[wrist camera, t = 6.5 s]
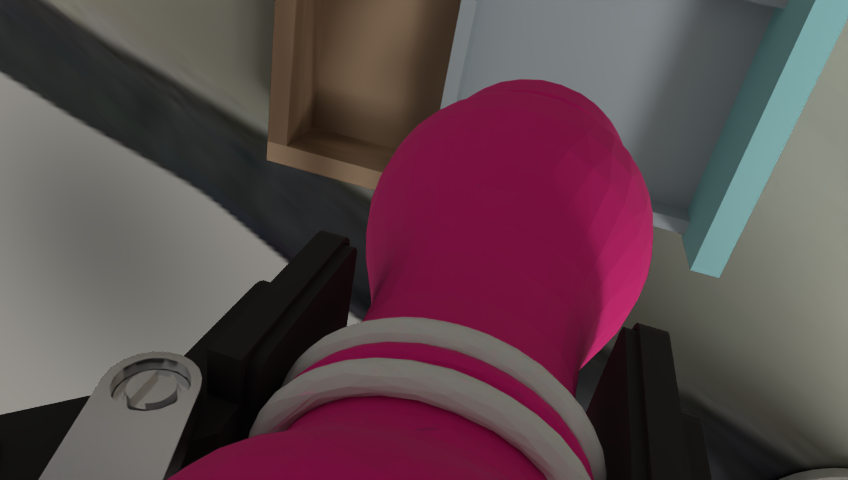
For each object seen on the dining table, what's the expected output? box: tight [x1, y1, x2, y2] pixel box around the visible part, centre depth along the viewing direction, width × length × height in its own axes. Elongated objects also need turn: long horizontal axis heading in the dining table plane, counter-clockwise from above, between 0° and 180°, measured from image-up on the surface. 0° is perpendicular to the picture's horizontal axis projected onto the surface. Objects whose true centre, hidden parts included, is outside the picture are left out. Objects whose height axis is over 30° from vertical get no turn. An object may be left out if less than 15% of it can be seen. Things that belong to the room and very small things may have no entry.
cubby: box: [267, 0, 461, 190], centre depth 33 cm, size 18×16×5 cm
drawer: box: [440, 0, 848, 278], centre depth 31 cm, size 16×13×6 cm
